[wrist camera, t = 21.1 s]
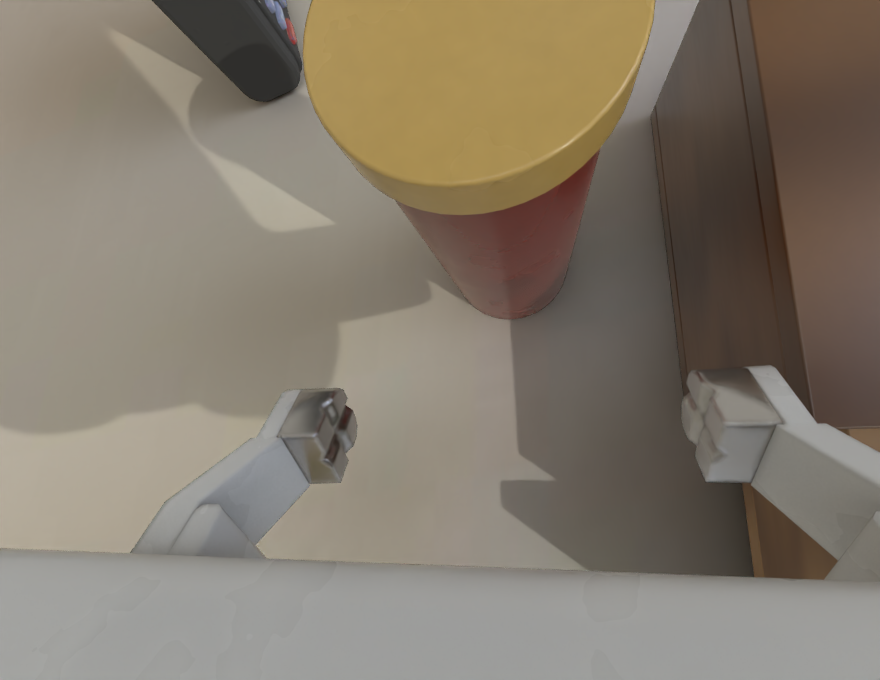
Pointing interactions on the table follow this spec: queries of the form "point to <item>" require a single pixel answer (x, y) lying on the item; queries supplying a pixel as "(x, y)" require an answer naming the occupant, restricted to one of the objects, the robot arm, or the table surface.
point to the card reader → (243, 41)
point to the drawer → (789, 533)
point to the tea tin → (479, 123)
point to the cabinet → (777, 197)
